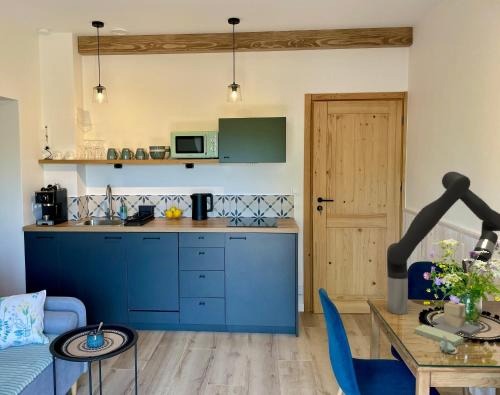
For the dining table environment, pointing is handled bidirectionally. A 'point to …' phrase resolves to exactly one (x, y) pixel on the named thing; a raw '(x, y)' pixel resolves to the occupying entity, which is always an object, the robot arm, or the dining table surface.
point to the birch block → (454, 314)
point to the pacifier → (447, 346)
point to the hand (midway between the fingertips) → (470, 281)
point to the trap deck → (446, 331)
